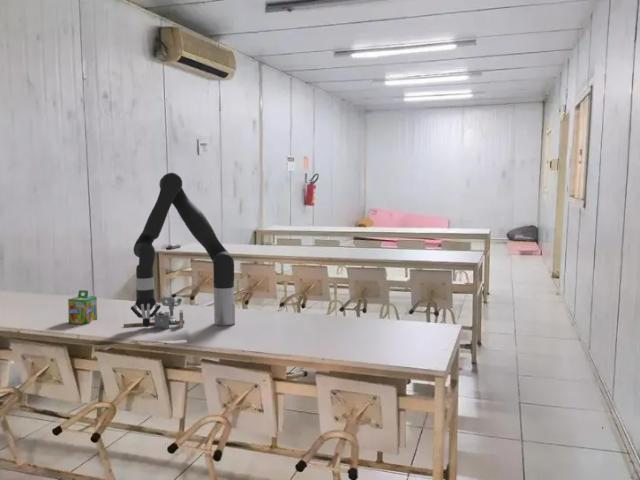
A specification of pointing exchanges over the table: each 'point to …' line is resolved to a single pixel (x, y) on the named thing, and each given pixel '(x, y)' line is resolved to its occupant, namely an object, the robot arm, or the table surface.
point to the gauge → (162, 320)
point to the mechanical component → (170, 303)
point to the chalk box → (82, 308)
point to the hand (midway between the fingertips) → (146, 326)
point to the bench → (154, 322)
